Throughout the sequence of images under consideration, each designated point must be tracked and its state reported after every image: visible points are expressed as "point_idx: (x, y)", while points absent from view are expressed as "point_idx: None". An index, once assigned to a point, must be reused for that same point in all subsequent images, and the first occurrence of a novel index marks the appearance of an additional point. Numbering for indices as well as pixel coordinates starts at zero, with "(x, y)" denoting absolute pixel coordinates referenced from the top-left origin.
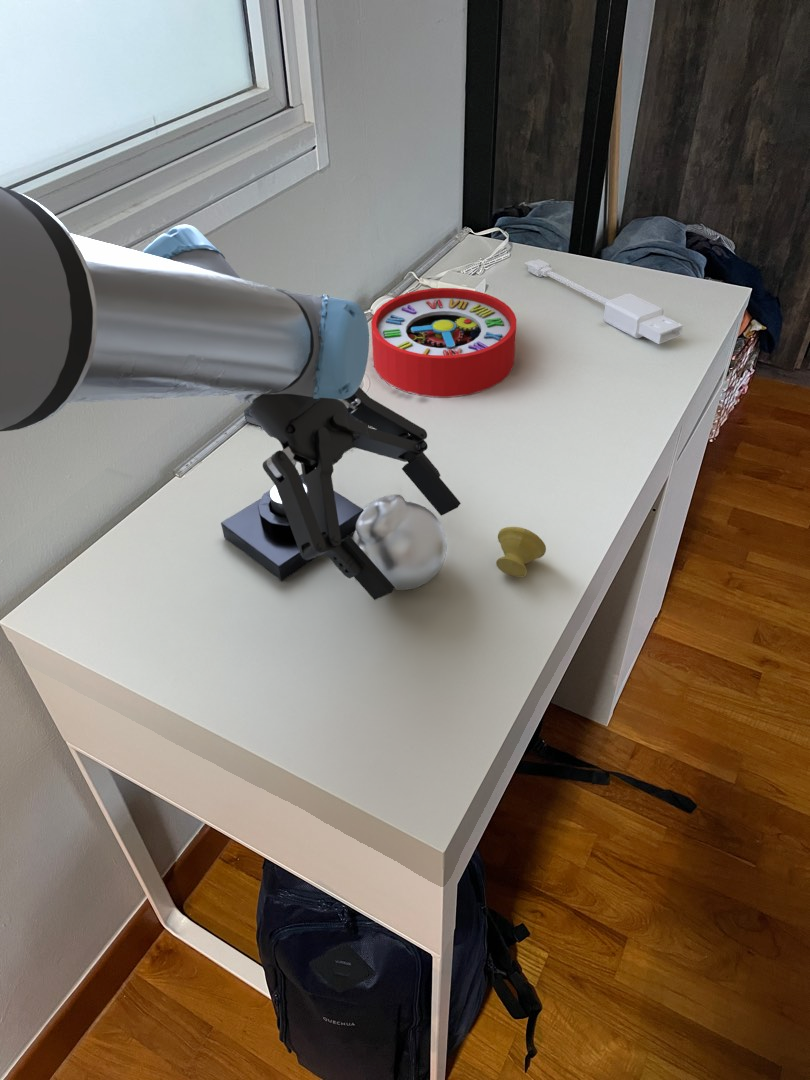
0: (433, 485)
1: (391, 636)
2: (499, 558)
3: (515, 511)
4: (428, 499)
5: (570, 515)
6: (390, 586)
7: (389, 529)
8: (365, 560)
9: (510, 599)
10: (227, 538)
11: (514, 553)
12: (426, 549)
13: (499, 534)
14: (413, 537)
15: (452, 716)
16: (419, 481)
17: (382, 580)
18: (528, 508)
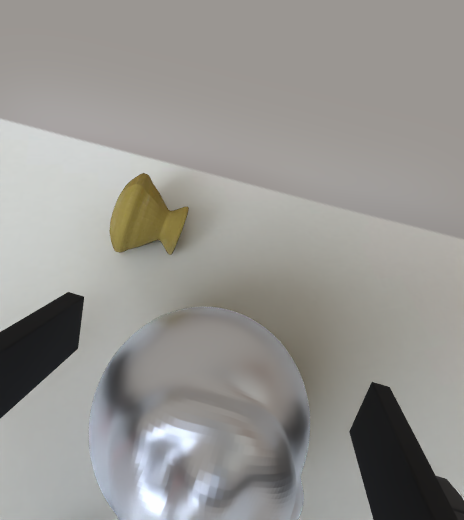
0: (29, 348)
1: (345, 401)
2: (176, 238)
3: (15, 250)
4: (45, 375)
5: (33, 179)
6: (381, 391)
7: (277, 424)
8: (424, 465)
9: (221, 240)
10: None
11: (165, 216)
12: (261, 328)
13: (125, 237)
14: (265, 353)
15: (435, 284)
16: (2, 397)
17: (397, 409)
18: (9, 232)
